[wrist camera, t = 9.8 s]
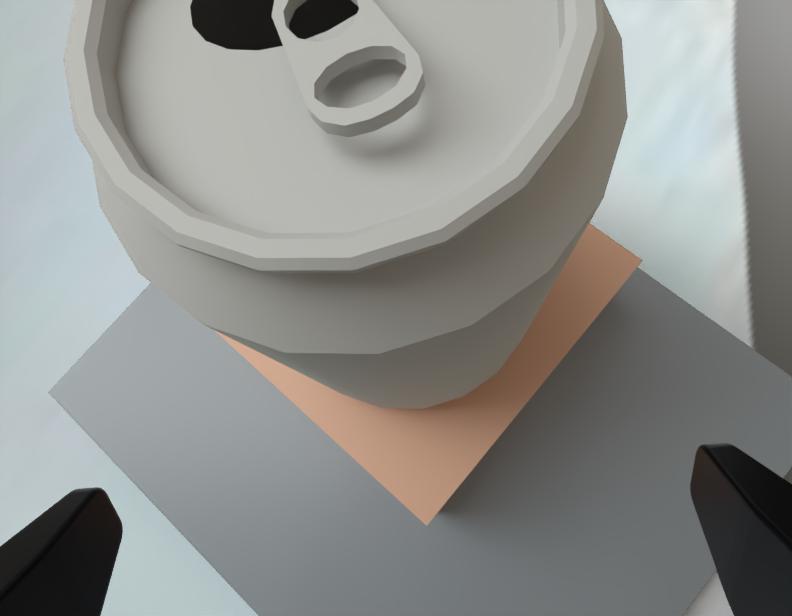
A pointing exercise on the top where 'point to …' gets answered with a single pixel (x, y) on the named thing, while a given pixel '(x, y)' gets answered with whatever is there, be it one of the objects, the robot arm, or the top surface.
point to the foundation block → (467, 416)
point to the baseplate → (475, 497)
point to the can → (352, 171)
